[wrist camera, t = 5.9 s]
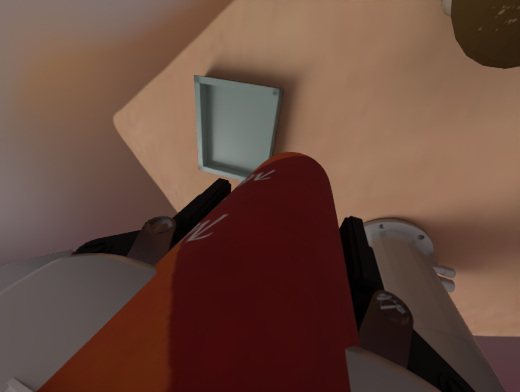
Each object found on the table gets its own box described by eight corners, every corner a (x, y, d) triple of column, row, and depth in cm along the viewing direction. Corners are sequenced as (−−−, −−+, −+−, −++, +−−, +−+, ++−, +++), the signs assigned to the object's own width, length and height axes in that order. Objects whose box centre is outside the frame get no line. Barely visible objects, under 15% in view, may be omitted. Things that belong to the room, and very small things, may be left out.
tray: (283, 88, 25) (279, 88, 23) (268, 180, 33) (264, 186, 31) (203, 76, 28) (193, 75, 25) (206, 164, 35) (198, 169, 33)
